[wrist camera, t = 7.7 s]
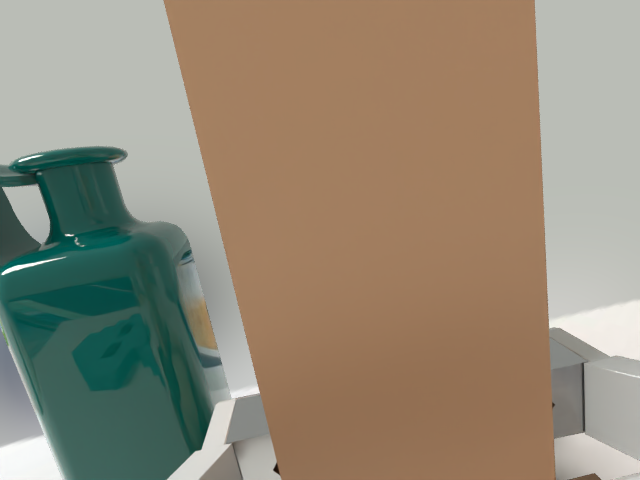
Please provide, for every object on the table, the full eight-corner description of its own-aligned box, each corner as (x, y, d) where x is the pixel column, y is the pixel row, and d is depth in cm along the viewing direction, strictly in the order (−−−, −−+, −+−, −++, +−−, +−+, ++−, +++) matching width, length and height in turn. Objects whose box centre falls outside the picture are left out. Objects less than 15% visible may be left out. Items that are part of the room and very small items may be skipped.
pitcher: (241, 420, 28) (167, 142, 23) (238, 520, 20) (123, 123, 15) (113, 458, 26) (7, 168, 22) (52, 584, 18) (-139, 162, 14)
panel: (520, 649, 12) (469, -4, 8) (567, 744, 10) (531, -65, 6) (348, 695, 11) (195, 40, 7) (360, 803, 9) (161, -9, 5)
